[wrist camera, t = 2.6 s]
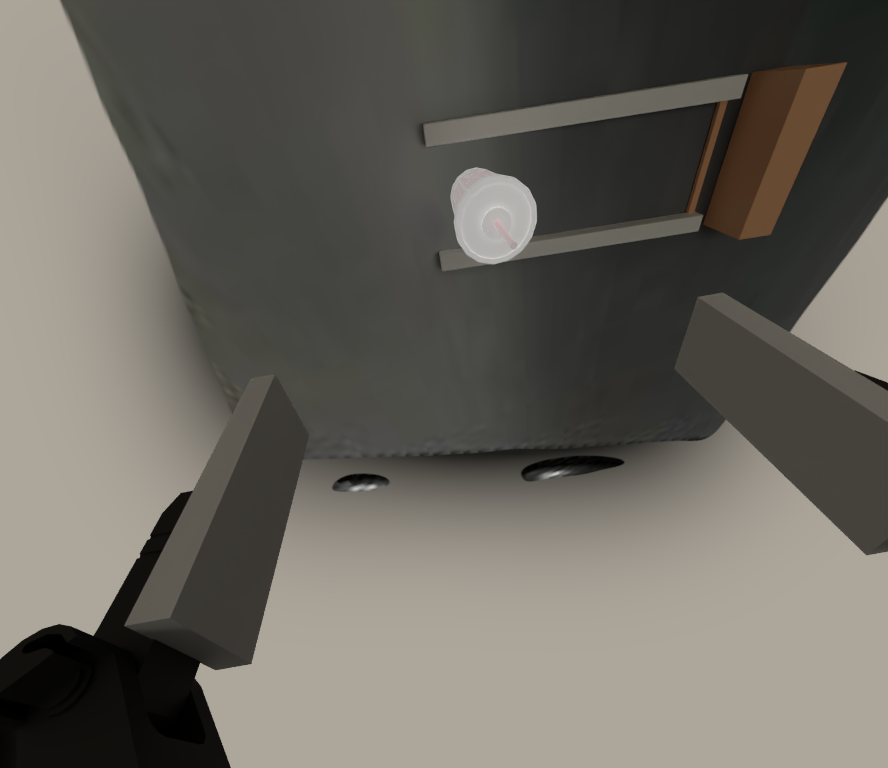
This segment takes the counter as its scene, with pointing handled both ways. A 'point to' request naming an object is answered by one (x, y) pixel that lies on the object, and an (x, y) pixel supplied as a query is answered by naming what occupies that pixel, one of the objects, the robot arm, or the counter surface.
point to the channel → (743, 170)
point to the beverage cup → (492, 215)
